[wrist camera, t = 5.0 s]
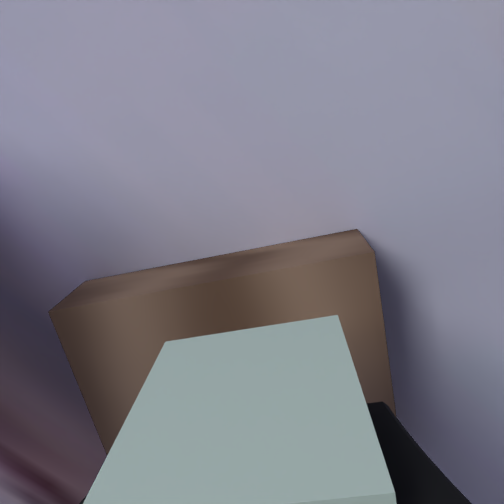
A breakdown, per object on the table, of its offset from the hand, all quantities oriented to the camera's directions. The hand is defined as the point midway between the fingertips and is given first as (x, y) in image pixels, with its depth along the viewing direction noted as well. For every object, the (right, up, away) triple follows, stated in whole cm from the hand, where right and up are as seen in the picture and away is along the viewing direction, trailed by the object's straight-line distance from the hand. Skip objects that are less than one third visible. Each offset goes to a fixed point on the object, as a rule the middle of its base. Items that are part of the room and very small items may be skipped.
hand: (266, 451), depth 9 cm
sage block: (0, +1, +1) cm, 2 cm away
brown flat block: (-1, -1, +9) cm, 9 cm away
